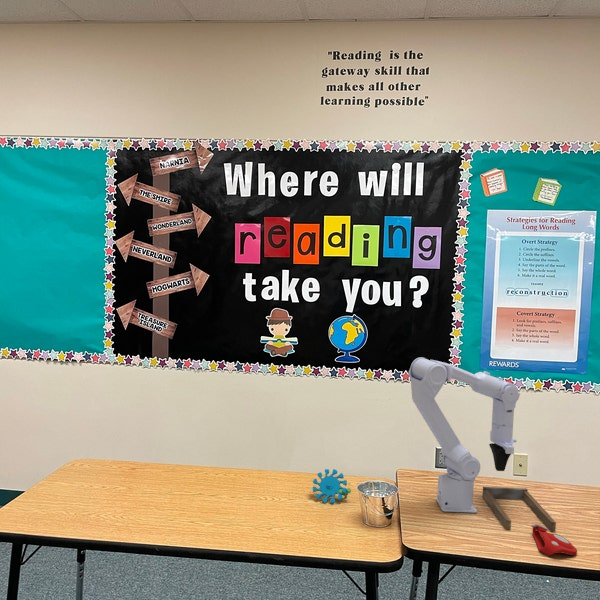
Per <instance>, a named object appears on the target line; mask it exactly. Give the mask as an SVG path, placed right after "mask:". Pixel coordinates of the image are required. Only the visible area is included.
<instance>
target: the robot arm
mask: <svg viewBox="0 0 600 600" xmlns="http://www.w3.org/2000/svg"><path fill="white" fill-rule="evenodd" d="M407 375H408V377H409V379H410V388H411V390H410V391H411V399H412V402H413V403H414V404H415V406H416V408H417V410H418V412H419V414H420V415H421V416H422V418H423V420H424V422H425V423H426V425H427V426H428V428H429V430H430V431H431V433H432V435H433V436H434V438H435V439H436V441H437V442H438V444H439V445H440V448H441V449H440V453H441V455H442V462H443V464H444V466H445V467H446V473H443V474H439V475H438V479H437V494H436V501H437V503H438V505H439V508H440V510H441V511H442V512H446V513H449V512H450V513H453V512H454V513H472V514H476V513H477V512H478V510H477V508H476V507H475V505H474V504H473V503H474V486H475V485H474V484H475V483H474V481H475V480H476V478H477V477H478V475H479V473H480V472H481V463H480V461H479V460H478V458H476V457H475V456H473V455H472V454H471V453H470V451H469V450H468V449H467V448H466V447H465V446H464V445H463V444H462V443H461V441H460V440H459V438H458V436H457V434H456V432H455V431H454V430H453V427H452V425H450V422H449V421H448V419H447V418H446V416H445V414H444V413H443V411H442V409H441V408H440V406H439V404H438V403H437V401H436V397H437V395H438V394H439V392H440V391H441V389H442V388H443V386H444V384H445V383H446V382H447V383H449V382H450V381H451V380H455V381H458V382H461V383H464V384H467V385H469V386H470V388H471V390H472V391H473V392H474V393H478V394H479V395H484V396H485V397H489V398H491V399H492V416H491V428H490V429H491V430H490V431H489V440H490V441H491V442H492V443H489V444H488V445H489V447H490V450H491V452H492V457H493V462H494V463H493V464H494V469H495V470H496V471H497V472H505V471H506V470H505V469H506V467H507V463H508V461H509V458H510V457H511V455H514V451H515V447H514V443H517V441H518V440H517V439H516V438H515V437H513V434H514V433H513V432H514V416H515V408H516V406H517V405H516V404H517V402H518V401H519V398H520V395H521V393H520V392H519V390H518V387H517V386H516V384H514V383H511V382H508V381H505V380H504V378H503V377H500V376H498V377H495V376H493V375H491V372H488V371H485V370H484V371H483V372H482V371H479V372H476V373H472V372H469V371H468V370H464V369H462V368H460V367H457V366H455V365H453V364H450V363H447V362H445V361H443V362H442V361H439V360H436V359H435V360H434V359H430V360H429V359H428V358H426V357H423V356H422V357H417V358H415V359H414V360H413V361H412V363H411V365H410V368H409V370H408V373H407Z"/></svg>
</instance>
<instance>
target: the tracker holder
mask: <svg viewBox="0 0 600 600" xmlns="http://www.w3.org/2000/svg"><path fill="white" fill-rule="evenodd" d="M531 528H532V536H533V538H534V541H535V544H536V546H537V549H538V551H539V552H541V553H542V554H545V555H546V556H547V557H548V556H552V555H553V554H559V553H560V554H561V553H562V554H565V555H568V556H569V555H570V556H577V554H578V549H577V548H576V547H575V546H574V545H573V544H572V543H571V542H570V541H569V540H568V539H566V538H565V537H563V536H561V535H560V534H556V533H553V532H552V533H551V532H549V529H548V528H547V527H546V526H543V525H541V524H539V523H536V524H532V525H531ZM547 531H548V532H547Z"/></svg>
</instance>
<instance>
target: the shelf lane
mask: <svg viewBox="0 0 600 600" xmlns="http://www.w3.org/2000/svg"><path fill="white" fill-rule="evenodd" d="M481 497H482V498H483V501H485V503H486V505H488V506H489V508H490V510H491V511H492V512H493V514H494V515H495V517H496V518H497V519H498V521H499V522H500V524H501V525H502V527H503V528H504V530H505V531H511V527H512V520H511V518H510V517H509V516H508V515H507V513H506V512H505V511H504V509H503V507H502V506H501V505H500V504H499V503H498V501H497V499H498V500H521V501H524V503H525V504H526V505H527V506H528V507H529V509H530V510H531V511H532V512H533V513H534V514H535V515H536V517H538V519H539V520H540V522H541V523H542V524H543V525H544V527H545V528H548V531H550V533H551V532H552V533H553V532H554V533H555V532H556V529H557V528H556V527H557V526H556V525H557V521H556V520H554V518H553V517H552V516H551V515H550V514H549V513H548V512H547V511H546V510H545V509H544V507H543V506H542V505H541V504H540V503H539V502H538V501H537V500H536V499H535V497H534V496H532V494H530V492H529V491H528V488H527V487H525V488H524V487H502V486H501V487H500V486H498V487H497V486H482V496H481Z"/></svg>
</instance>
